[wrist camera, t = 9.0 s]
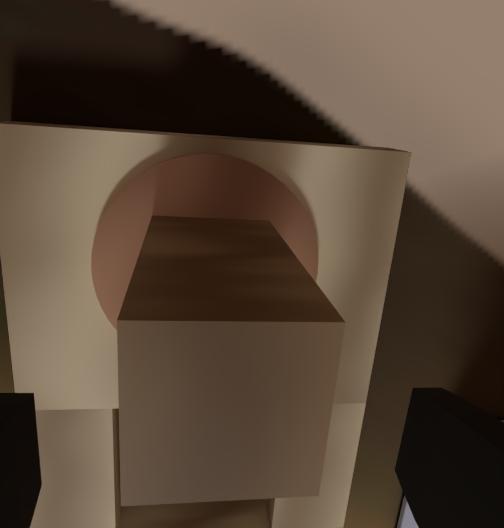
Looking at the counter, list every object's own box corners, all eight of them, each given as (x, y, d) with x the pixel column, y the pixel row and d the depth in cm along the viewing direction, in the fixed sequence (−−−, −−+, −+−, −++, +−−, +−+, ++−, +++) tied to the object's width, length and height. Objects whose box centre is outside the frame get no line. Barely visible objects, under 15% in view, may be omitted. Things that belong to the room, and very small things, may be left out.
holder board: (387, 147, 18) (416, 153, 16) (326, 516, 24) (341, 558, 21) (10, 121, 16) (-20, 122, 13) (47, 533, 22) (31, 582, 19)
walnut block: (269, 220, 16) (346, 322, 8) (259, 324, 17) (318, 496, 9) (151, 215, 15) (116, 320, 7) (151, 323, 16) (120, 506, 9)
